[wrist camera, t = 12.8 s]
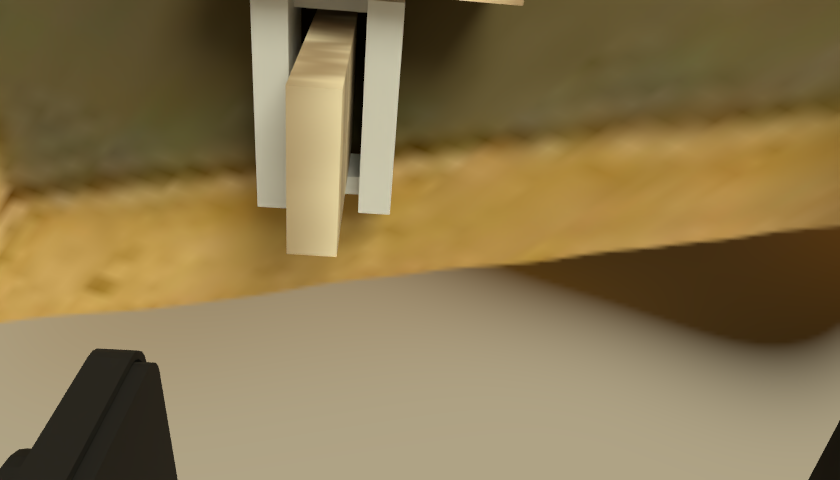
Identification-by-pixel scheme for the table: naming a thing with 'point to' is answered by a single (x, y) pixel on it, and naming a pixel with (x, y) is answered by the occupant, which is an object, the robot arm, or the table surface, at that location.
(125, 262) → the table surface
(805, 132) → the table surface
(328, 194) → the wooden board
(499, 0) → the rack
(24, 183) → the table surface
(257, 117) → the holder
